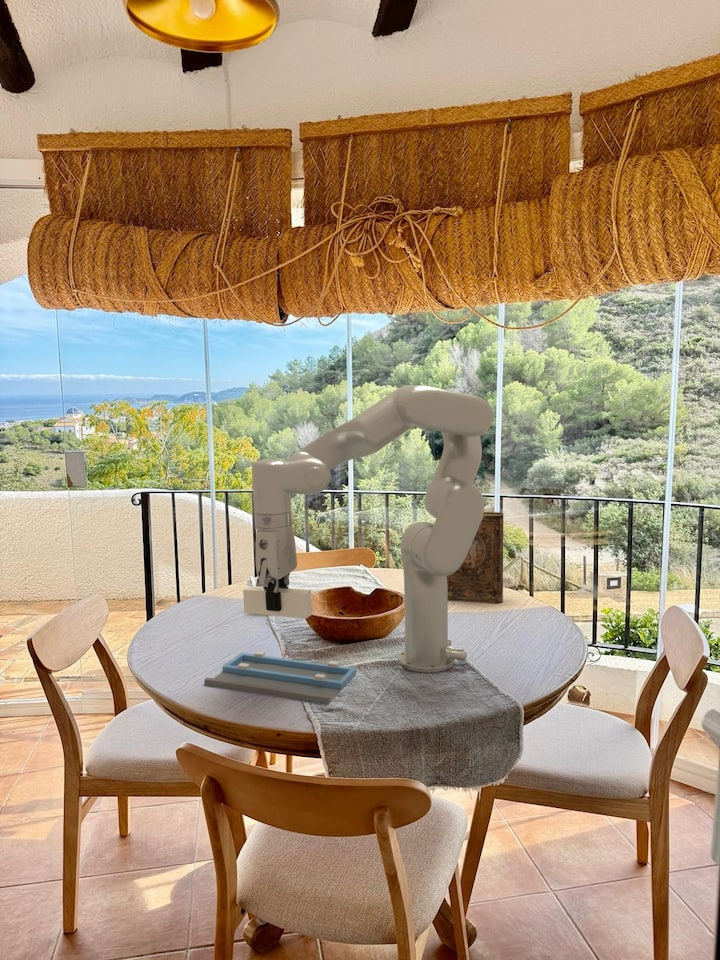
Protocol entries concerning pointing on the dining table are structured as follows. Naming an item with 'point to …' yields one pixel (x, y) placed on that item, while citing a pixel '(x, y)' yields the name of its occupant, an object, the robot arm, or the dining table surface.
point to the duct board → (283, 677)
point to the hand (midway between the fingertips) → (277, 606)
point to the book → (481, 565)
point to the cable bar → (291, 602)
